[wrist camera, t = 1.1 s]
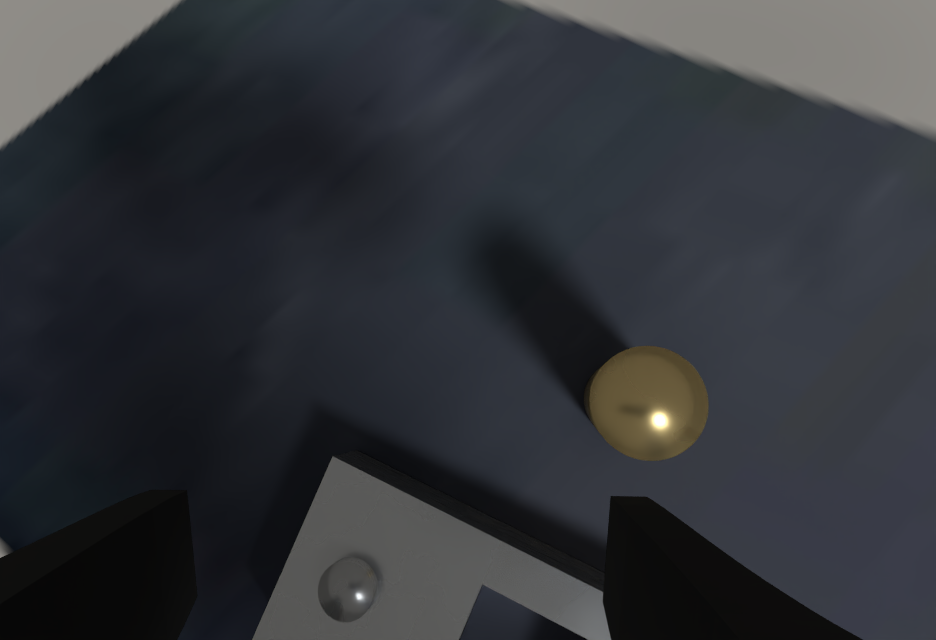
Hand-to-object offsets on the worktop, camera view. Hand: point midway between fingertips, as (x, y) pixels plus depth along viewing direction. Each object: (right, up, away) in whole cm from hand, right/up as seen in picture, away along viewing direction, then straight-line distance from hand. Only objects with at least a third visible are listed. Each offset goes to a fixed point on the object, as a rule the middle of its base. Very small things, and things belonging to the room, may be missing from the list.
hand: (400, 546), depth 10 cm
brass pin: (+7, +1, +12) cm, 14 cm away
